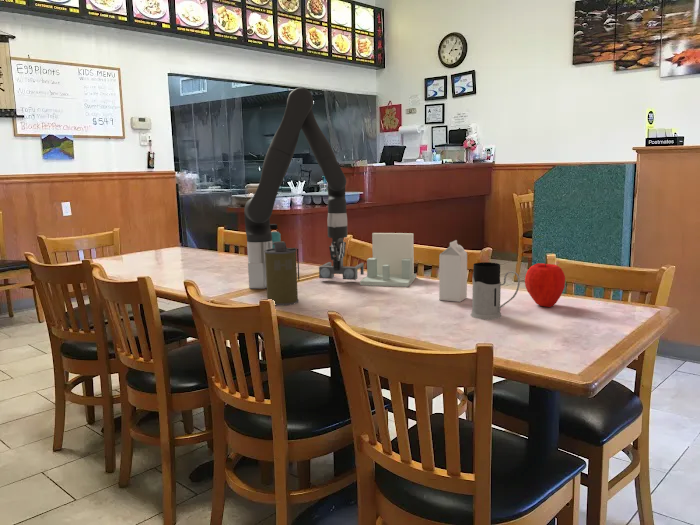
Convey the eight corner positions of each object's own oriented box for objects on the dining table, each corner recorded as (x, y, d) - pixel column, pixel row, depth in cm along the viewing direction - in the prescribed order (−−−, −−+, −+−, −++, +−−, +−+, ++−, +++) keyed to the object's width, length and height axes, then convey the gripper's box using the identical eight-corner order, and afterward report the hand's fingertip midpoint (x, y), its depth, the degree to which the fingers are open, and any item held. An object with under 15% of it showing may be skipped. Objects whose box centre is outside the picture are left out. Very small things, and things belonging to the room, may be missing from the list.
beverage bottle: (281, 270, 247) (279, 224, 243) (266, 270, 247) (264, 224, 244) (283, 267, 253) (281, 223, 250) (268, 268, 253) (266, 223, 250)
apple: (516, 303, 178) (517, 261, 176) (546, 299, 182) (548, 258, 180) (541, 312, 167) (542, 267, 165) (573, 307, 171) (574, 264, 169)
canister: (269, 306, 182) (266, 244, 178) (264, 299, 192) (261, 241, 188) (302, 303, 185) (300, 242, 181) (296, 297, 195) (294, 239, 191)
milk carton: (439, 300, 185) (439, 242, 182) (446, 295, 191) (446, 239, 188) (460, 302, 182) (460, 243, 178) (466, 297, 188) (467, 240, 185)
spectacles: (355, 279, 216) (354, 259, 215) (319, 278, 220) (318, 257, 219) (363, 274, 227) (363, 254, 226) (329, 272, 232) (328, 253, 230)
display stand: (408, 286, 207) (407, 239, 204) (360, 285, 212) (359, 238, 209) (416, 277, 223) (416, 233, 221) (371, 276, 229) (370, 232, 226)
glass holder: (479, 310, 171) (479, 261, 169) (524, 317, 162) (526, 265, 160) (465, 316, 165) (465, 265, 162) (512, 323, 156) (513, 270, 153)
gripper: (333, 223, 224) (334, 266, 227) (321, 226, 211) (322, 272, 213) (352, 223, 222) (352, 267, 225) (341, 226, 209) (342, 273, 211)
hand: (338, 269), depth 219 cm, fingers closed on spectacles, 3 cm apart
